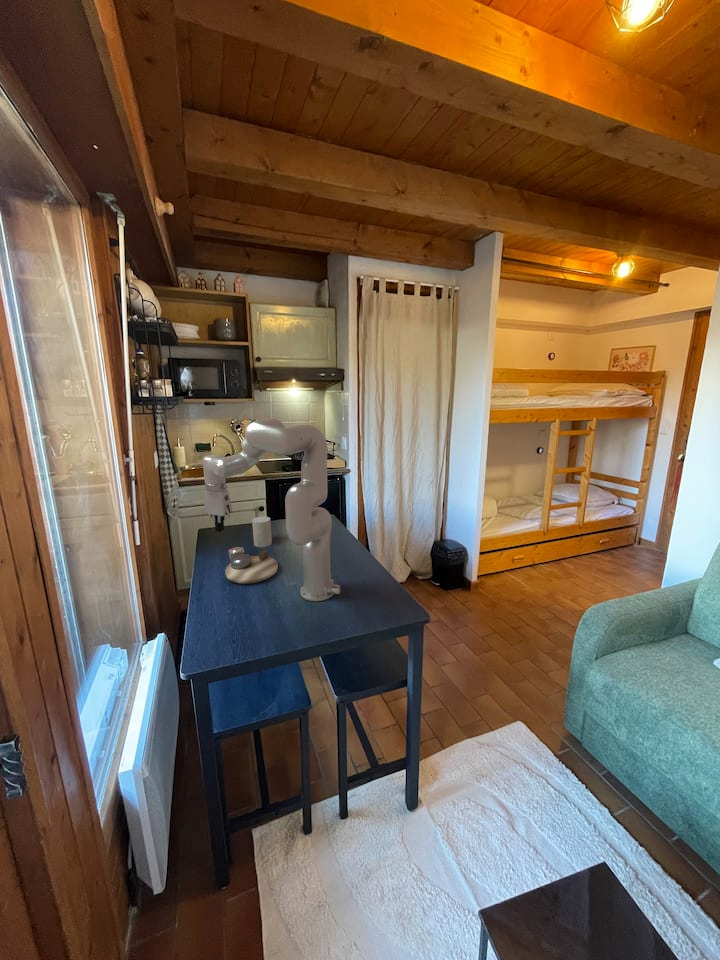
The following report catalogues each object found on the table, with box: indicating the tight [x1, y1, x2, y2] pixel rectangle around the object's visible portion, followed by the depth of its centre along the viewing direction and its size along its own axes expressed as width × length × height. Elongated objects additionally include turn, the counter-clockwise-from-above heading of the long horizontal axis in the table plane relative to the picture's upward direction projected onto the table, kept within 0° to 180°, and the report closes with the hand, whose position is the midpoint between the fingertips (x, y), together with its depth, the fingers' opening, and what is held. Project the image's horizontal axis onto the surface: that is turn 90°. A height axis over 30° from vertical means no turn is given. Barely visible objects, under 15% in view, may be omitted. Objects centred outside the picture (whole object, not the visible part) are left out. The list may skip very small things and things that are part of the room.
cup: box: [251, 515, 273, 548], centre depth 176 cm, size 8×8×12 cm
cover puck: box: [229, 553, 252, 570], centre depth 151 cm, size 8×8×3 cm
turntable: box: [224, 549, 279, 584], centre depth 150 cm, size 20×20×4 cm
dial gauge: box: [228, 546, 245, 562], centre depth 164 cm, size 6×5×4 cm
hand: (219, 530), depth 152 cm, fingers closed
